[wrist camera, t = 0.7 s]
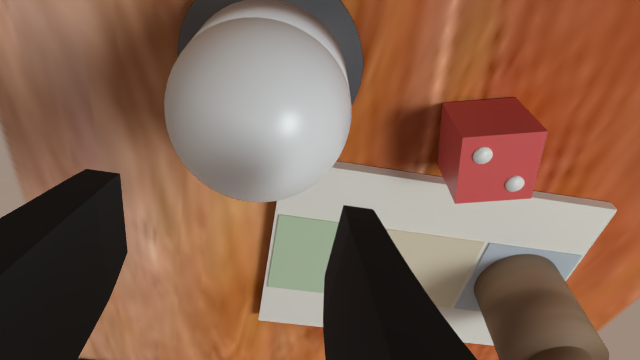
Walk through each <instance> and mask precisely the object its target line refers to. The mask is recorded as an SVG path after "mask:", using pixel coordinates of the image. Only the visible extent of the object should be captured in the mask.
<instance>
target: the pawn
mask: <svg viewBox="0 0 640 360" xmlns="http://www.w3.org/2000/svg"><path fill="white" fill-rule="evenodd" d="M474 294H475V297H476V300H477V302H478V305H479V307H480V310H481V313H482V315H483V318H484V320H485V323H486V326H487V328H488V331H489V333H490V336H491V339H492V341H493V344H494V346H495V349H496V352H497V354H498V357H499V360H608V359H609V352H608V349H607V347H606V346H605V344H604V343H603V341H602V340H601V338H600V336H599V335H598V333H597V331H596V330H595V328H594V327H593V325H592V323H591V322H590V320H589V319H588V317H587V315H586V314H585V312H584V311H583V309H582V307H581V306H580V304H579V303H578V301H577V299H576V298H575V296H574V295H573V293H572V291H571V290H570V288H569V287H568V285H567V283H566V282H565V280H564V279H563V277H562V275H561V274H560V272H559V271H558V269H557V267H556V266H555V265H554V263H553V262H552V261H550V260H549V259H547V258H545V257H542V256H539V255H534V254H520V255H514V256H509V257H506V258H503V259H501V260H499V261H496V262H495V263H493V264H491V265H490V266H488V267H487V268H486V269H485V270H483V271H482V273H481V274H480V275H479V276H478V278H477V279H476V282H475V285H474Z"/></svg>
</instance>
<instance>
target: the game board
mask: <svg viewBox="0 0 640 360" xmlns="http://www.w3.org/2000/svg"><path fill="white" fill-rule="evenodd" d="M343 205H347V206H354V207H361V208H368V209H373V210H374V211H375V213H376V214H377V216H378V217H379V219H380V221H381V222H382V224H383V226H384V227H385V229H386V230H387V232H388V234H389V235H390V237H391V239H392V240H393V242H394V244H395V245H396V247H397V248H398V250H399V252H400V253H401V255H402V256H403V258H404V260H405V261H406V263H407V264H408V266H409V267H410V269H411V270H412V272H413V273H414V275H415V276H416V278H417V279H418V281H419V282H420V284H421V285H422V287H423V288H424V290H425V291H426V293H427V294H428V295H429V297H430V298H431V300H432V301H433V303H434V304H435V305H436V307H437V308H438V310H439V311H440V312H441V314H442V315H443V317H444V318H445V319H446V320H447V322H448V323H449V324H450V326H451V327H452V328H453V330H454V331H455V332H456V334H457V335H458V336H459V338H460V339H461V340H462V342H466V343H475V344H484V345H493V346H494V344H493V341H492V339H491V336H490V333H489V331H488V328H487V326H486V323H485V320H484V318H483V315H482V313H481V310H480V307H479V305H478V302H477V300H476V297H475V294H474V285H475V282H476V279H477V278H478V276H479V275H480V274H481V273H482V271H483V270H485V269H486V268H487V267H488V266H490V265H491V264H493V263H495V262H496V261H499V260H501V259H503V258H506V257H509V256H514V255H520V254H534V255H539V256H542V257H545V258H547V259H549V260H550V261H552V262H553V263H554V265H555V266H556V267H557V269H558V271H559V272H560V274H561V275H562V277H563V279H564V280H565V282H566V280H567V279H568V278H569V276H570V275H571V273H572V272H573V271H574V269H575V268H576V267H577V265H578V264H579V262H580V261H581V260H582V258H583V257H584V256H585V254H586V253H587V251H588V250H589V249H590V247H591V246H592V245H593V243H594V242H595V240H596V239H597V238H598V236H599V235H600V234H601V232H602V231H603V229H604V228H605V227H606V225H607V224H608V223H609V221H610V220H611V218H612V217H613V216H614V214H615V213H616V211H617V209H616V208H615V207H614V206H613V205H612V204H611V203H610V202H604V201H597V200H591V199H584V198H577V197H571V196H564V195H558V194H551V193H544V192H538V191H533V194H532V198H531V199H517V200H503V201H489V202H474V203H460V204H455V203H454V201H453V198H452V196H451V194H450V192H449V189H448V187H447V185H446V182H445V180H444V178H443V177H438V176H432V175H425V174H418V173H412V172H405V171H399V170H392V169H385V168H379V167H372V166H365V165H359V164H352V163H346V162H339V161H336V162H335V164H334V165H333V167H332V168H331V169H330V170H329V171H328V173H327V174H326V175H325V176H324V177H323V178H321V179H320V180H319V181H318V182H317V183H316V184H314V185H313V186H311V187H310V188H308V189H307V190H305V191H303V192H301V193H299V194H297V195H295V196H292V197H289V198H286V199H282V200H278V201H277V203H276V209H275V216H274V222H273V228H272V235H271V241H270V248H269V254H268V260H267V267H266V273H265V280H264V286H263V292H262V299H261V305H260V311H259V319H258V320H262V321H272V322H281V323H290V324H299V325H308V326H318V327H323V301H324V277H325V272H326V269H327V265H328V261H329V257H330V254H331V250H332V246H333V242H334V239H335V235H336V231H337V227H338V224H339V220H340V216H341V213H342V209H343Z"/></svg>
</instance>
